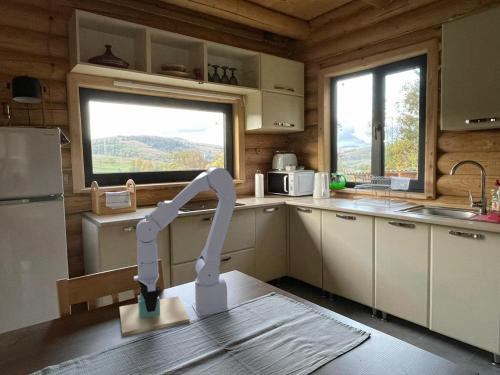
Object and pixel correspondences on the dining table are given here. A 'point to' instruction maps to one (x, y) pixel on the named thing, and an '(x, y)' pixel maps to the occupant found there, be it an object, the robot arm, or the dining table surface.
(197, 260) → the robot arm
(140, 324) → the base plate
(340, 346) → the dining table surface
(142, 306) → the mint green mini box
